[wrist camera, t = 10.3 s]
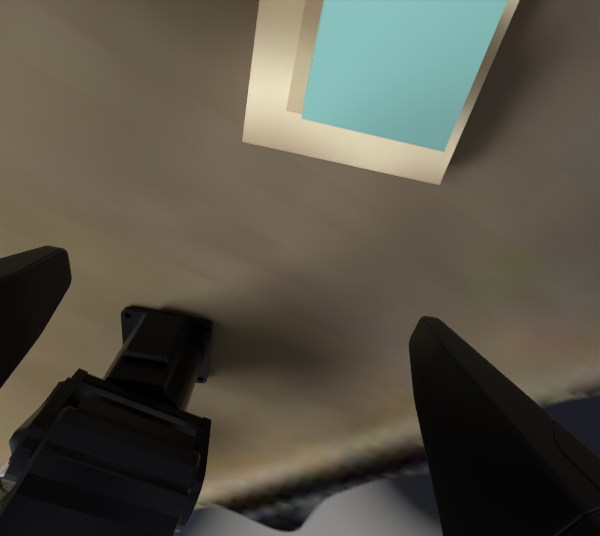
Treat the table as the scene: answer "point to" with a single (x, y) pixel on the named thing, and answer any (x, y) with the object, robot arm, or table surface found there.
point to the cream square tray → (320, 137)
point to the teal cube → (398, 65)
